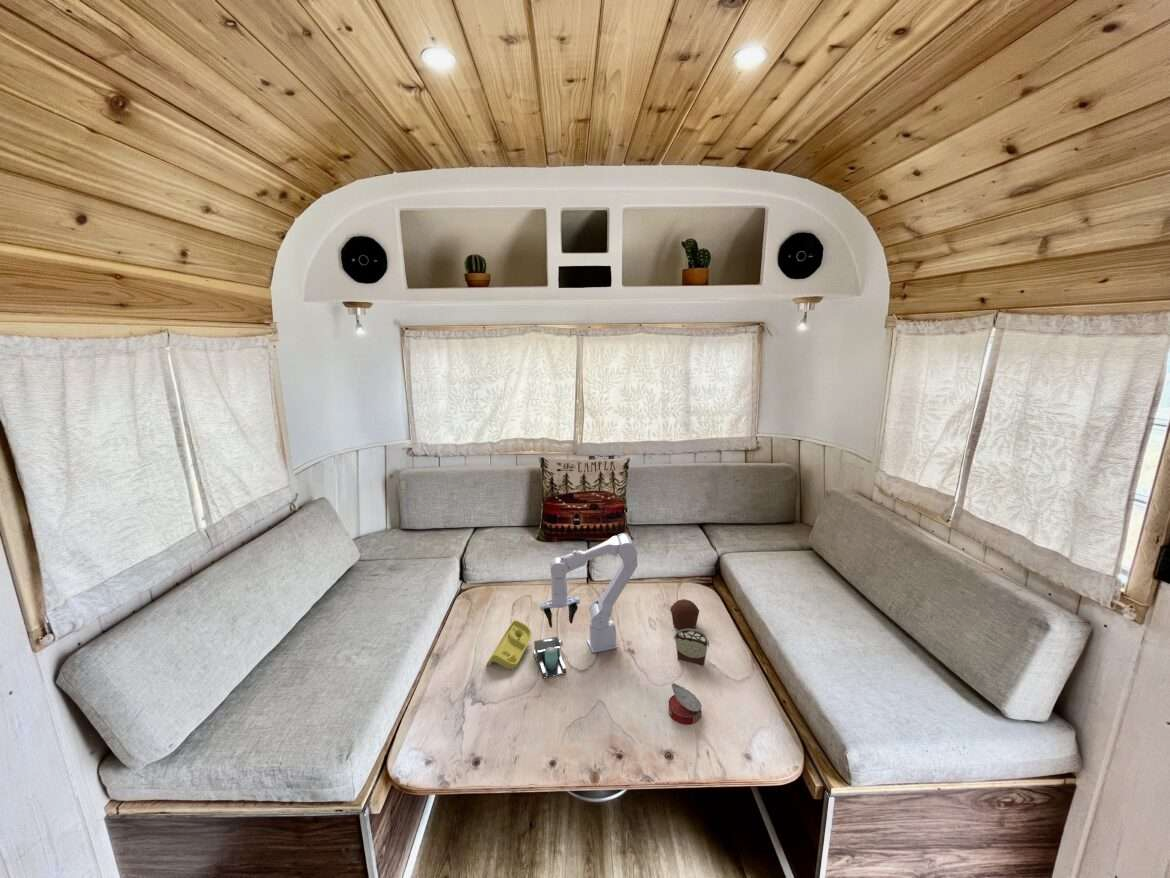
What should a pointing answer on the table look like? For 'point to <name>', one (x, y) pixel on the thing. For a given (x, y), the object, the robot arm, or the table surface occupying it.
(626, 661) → the table surface
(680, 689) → the canned food
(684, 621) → the muffin
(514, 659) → the plastic component
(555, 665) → the teal rounded cylinder
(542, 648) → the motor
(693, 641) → the food container
